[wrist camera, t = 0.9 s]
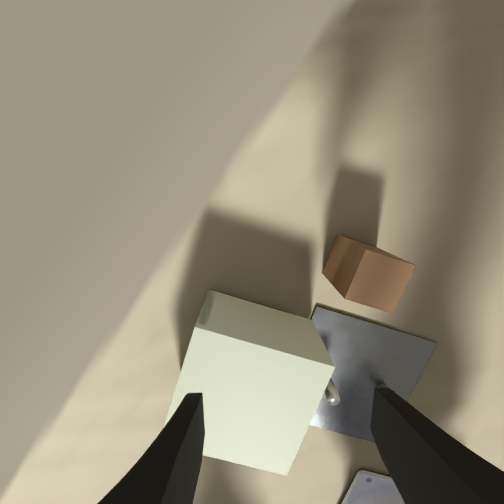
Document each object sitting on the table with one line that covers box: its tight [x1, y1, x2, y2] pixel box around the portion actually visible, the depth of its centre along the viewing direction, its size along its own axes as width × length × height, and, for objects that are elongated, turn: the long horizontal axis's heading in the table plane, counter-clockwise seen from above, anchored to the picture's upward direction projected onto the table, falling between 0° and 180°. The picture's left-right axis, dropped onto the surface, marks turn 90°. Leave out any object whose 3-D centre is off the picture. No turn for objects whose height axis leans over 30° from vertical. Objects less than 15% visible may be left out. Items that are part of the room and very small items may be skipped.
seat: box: [310, 306, 437, 442], centre depth 21 cm, size 10×10×3 cm
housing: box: [163, 289, 335, 476], centre depth 19 cm, size 8×8×6 cm
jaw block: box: [322, 235, 416, 314], centre depth 18 cm, size 3×3×5 cm
